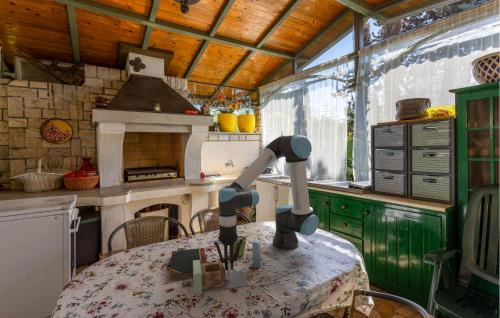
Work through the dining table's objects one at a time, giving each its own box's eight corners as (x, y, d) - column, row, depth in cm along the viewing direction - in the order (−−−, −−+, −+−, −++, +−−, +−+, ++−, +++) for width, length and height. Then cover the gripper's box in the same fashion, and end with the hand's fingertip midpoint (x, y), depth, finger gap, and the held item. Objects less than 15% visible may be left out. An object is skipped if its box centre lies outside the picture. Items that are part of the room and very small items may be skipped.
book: (171, 257, 133) (169, 282, 109) (171, 251, 133) (169, 274, 109) (204, 253, 138) (209, 276, 114) (204, 247, 138) (209, 268, 113)
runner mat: (241, 270, 118) (241, 270, 118) (248, 285, 105) (248, 285, 105) (199, 276, 113) (199, 275, 113) (201, 293, 100) (201, 292, 100)
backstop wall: (200, 277, 112) (199, 259, 112) (201, 292, 101) (201, 273, 100) (193, 278, 112) (192, 260, 111) (194, 293, 100) (193, 274, 100)
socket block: (222, 273, 114) (222, 261, 114) (225, 285, 104) (225, 272, 104) (200, 277, 111) (199, 263, 111) (201, 289, 102) (201, 275, 101)
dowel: (259, 263, 125) (259, 240, 124) (261, 267, 121) (261, 243, 120) (251, 264, 124) (251, 241, 123) (253, 268, 120) (253, 244, 119)
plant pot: (244, 259, 130) (244, 242, 129) (227, 257, 132) (227, 241, 131) (248, 251, 139) (248, 236, 138) (232, 250, 141) (232, 235, 140)
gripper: (240, 220, 113) (241, 270, 115) (212, 223, 110) (213, 274, 112) (244, 225, 106) (245, 279, 107) (214, 228, 103) (215, 283, 104)
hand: (229, 276), depth 109 cm, fingers closed
